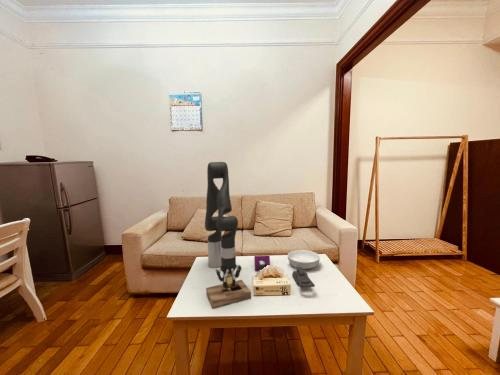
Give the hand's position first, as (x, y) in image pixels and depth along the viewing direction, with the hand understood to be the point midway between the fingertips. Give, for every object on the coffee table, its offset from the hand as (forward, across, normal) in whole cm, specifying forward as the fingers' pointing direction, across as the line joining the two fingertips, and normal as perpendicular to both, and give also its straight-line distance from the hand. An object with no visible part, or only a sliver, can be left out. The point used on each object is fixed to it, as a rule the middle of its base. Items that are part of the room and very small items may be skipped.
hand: (229, 286), depth 122 cm
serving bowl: (+6, -57, -12) cm, 58 cm away
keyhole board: (+5, 0, 0) cm, 5 cm away
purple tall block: (+6, -32, -25) cm, 41 cm away
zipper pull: (+6, -41, +7) cm, 42 cm away
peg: (+5, 0, 0) cm, 5 cm away
